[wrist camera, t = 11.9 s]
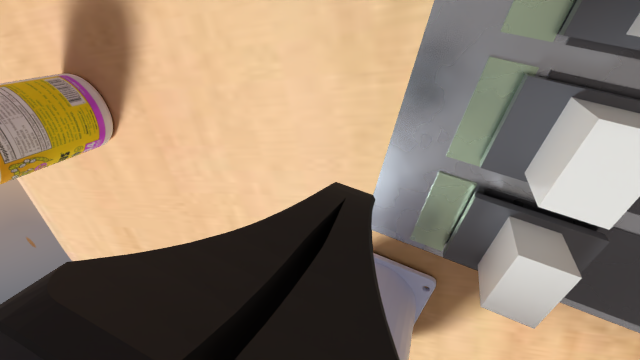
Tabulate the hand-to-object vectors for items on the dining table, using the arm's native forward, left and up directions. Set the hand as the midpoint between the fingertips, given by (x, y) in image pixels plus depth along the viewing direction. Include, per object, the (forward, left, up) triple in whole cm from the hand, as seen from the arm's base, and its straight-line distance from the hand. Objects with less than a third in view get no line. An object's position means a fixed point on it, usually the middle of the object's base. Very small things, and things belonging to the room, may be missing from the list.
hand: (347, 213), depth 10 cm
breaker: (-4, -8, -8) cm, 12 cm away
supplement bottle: (-7, +27, -10) cm, 30 cm away
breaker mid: (+2, -8, -8) cm, 11 cm away
